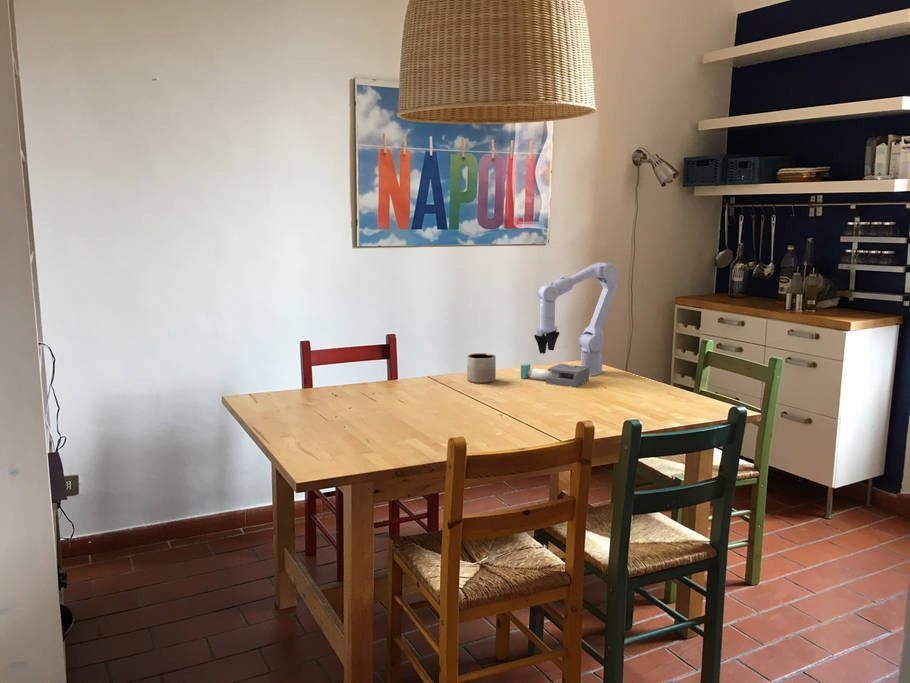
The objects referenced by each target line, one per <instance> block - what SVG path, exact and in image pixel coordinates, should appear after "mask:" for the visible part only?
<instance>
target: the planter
mask: <svg viewBox="0 0 910 683" xmlns="http://www.w3.org/2000/svg"><path fill="white" fill-rule="evenodd" d="M466 359H467V360H466V361H467V363H466V380H467V381H468V382H469V383H472V382H475V383H474V384H489V383H488V382H491V383H494V382H495V381H496V378H497V377H496V365H497V364H496V363H497V362H496V355H495V354H491V353H483V352H482V353H471V354H468V355H467V358H466Z"/></svg>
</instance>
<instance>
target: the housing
mask: <svg viewBox="0 0 910 683" xmlns="http://www.w3.org/2000/svg"><path fill="white" fill-rule="evenodd" d="M568 365H569V364H566V363H559V364H556V365H554V366H552V367H549V368H547V370H548V371H554V372H562V378H555V377H546V380H545V384H546V383H548V384H547V385H553V384H556V385H555V386H561V385H562V386H561V387H568V386H571V387H570V388H578V387H580V386H582V385H584V384H586V383H587V381H588V382H590V375H589V367H584V366H581V365H576V367H575V368H573V367H568ZM585 382H586V383H585ZM583 383H584V384H583ZM581 384H582V385H581ZM579 385H580V386H579ZM577 386H578V387H577Z"/></svg>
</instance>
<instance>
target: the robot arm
mask: <svg viewBox="0 0 910 683" xmlns="http://www.w3.org/2000/svg"><path fill="white" fill-rule="evenodd" d="M619 273H620V272H619V269H618V268H617V266H616V265H615V264H613V263H611V262H607V263H606V262H602V261H598V262H595V263H592V264H590V265H589V266H588V267H585V268H584V269H582V270H579V271H578V272H576V273H574V274H573V275H571V276H570V277H569V276H567V275H566V276H563V275H562V276H559V279H557V280H555V281H552V282H549V283H548V285H546V284H545V285H542V286H541V287H540V288H539V289H538V292H537V296H538V298H539V327H537V328H536V334H534V335H533V336H534V339H535V341H536V344H537V346H538V351H539V354H543V355H545V354H546V352H547V350H548V351H555V347H556V344H557V343H556V342H557V340H558V337H559V336H560V334H561V332H560V331H558V325H556V324H555V323H556V300H557V299H558V297H560V296H562V295H564V294H566V293H569V291H571V290H573V287H574V286H575V285H577V284H579V283H582V282H584V281H586V280H588V279H590V278H596V279H597V280H598V281H599V283H600V286H602V290H601V293H600V296H599V298H598V301H597V303H596V306H595V310H594V312H593V315H592V317H591V320H590V323H589V325H588V326H587V327H585V329H584V331H583V332H582V334H581V335H580V336H579V338H578V344H579V346H580V347H581V349H580V350H581V351H580V366H584V367H589V376H594V377H596V376H598V375H600V374H603V373H604V372H605V370H603V354H602V352H601V350H602V348H603V347H604V337H605V334H604V330H603V329H604V327H605V324H606V321H607V319H608V316H609V313H610V311H611V308H612V305H613V303H614V300H615V297H616V295H617V292H618V289H619V278H618V277H619Z"/></svg>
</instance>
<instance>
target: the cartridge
mask: <svg viewBox="0 0 910 683" xmlns="http://www.w3.org/2000/svg"><path fill="white" fill-rule="evenodd" d="M527 377H528V378H530V377H531V378H532V379H534V380H542V381H546V377H555V378H562V372H554V371H548V369H545V368H544V369H543V368H535V367H534V368H533V369H532V370H531V363H523V364H521V365H520V379H524V378H526V379H528V378H527Z"/></svg>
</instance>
